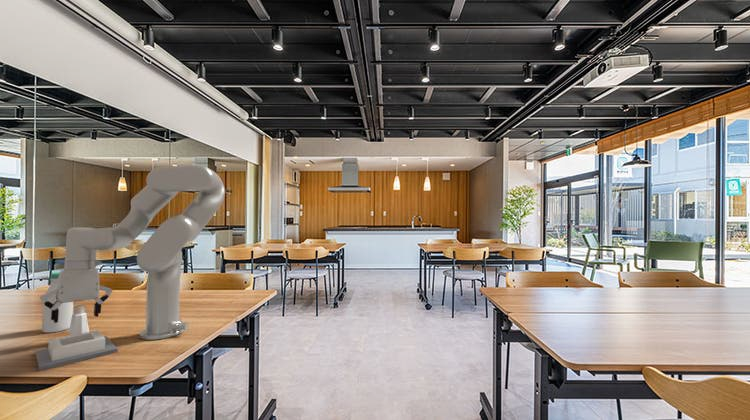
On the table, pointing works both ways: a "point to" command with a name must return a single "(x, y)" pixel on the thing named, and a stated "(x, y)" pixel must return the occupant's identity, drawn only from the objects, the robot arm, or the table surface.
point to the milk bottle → (64, 309)
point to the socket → (74, 349)
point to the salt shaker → (79, 321)
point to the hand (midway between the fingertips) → (76, 318)
